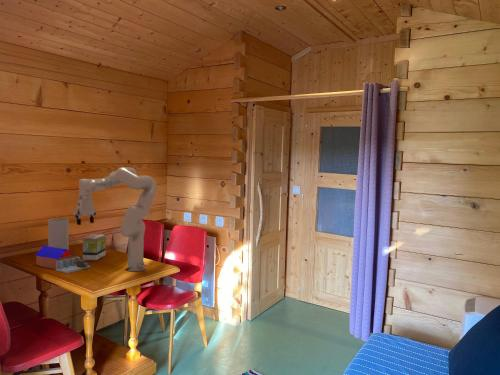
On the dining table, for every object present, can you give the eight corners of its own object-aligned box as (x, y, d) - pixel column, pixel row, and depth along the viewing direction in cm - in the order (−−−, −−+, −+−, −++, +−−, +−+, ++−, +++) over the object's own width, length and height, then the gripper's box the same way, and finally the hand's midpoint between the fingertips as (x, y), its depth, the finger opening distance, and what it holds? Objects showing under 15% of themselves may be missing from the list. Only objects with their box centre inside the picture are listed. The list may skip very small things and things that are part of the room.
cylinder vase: (48, 254, 273) (48, 218, 272) (67, 252, 279) (67, 217, 277) (48, 258, 262) (48, 221, 261) (69, 256, 268) (69, 220, 266)
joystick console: (90, 267, 244) (90, 258, 243) (67, 273, 230) (67, 264, 229) (78, 264, 249) (78, 256, 248) (55, 270, 235) (55, 261, 234)
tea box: (97, 260, 260) (97, 238, 259) (82, 260, 261) (82, 238, 260) (106, 255, 275) (106, 234, 274) (91, 254, 276) (91, 233, 275)
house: (52, 261, 255) (52, 243, 254) (74, 265, 247) (74, 247, 246) (35, 265, 244) (35, 247, 244) (58, 270, 236) (58, 251, 235)
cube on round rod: (89, 266, 241) (89, 260, 241) (84, 268, 237) (84, 261, 237) (78, 264, 246) (78, 258, 246) (72, 265, 242) (72, 259, 242)
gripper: (77, 199, 247) (77, 226, 248) (100, 197, 262) (100, 222, 263) (69, 198, 251) (69, 224, 252) (92, 196, 266) (92, 221, 267)
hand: (85, 223), depth 258 cm, fingers open, 9 cm apart
